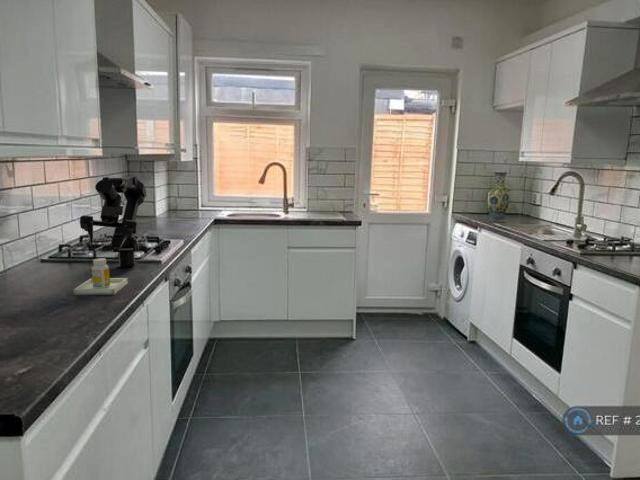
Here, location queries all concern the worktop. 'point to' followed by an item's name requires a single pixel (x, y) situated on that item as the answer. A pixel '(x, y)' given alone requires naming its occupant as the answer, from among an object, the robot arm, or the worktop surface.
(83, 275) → the worktop surface
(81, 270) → the worktop surface
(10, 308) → the worktop surface
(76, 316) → the worktop surface
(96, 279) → the supplement bottle
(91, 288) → the sage tray
